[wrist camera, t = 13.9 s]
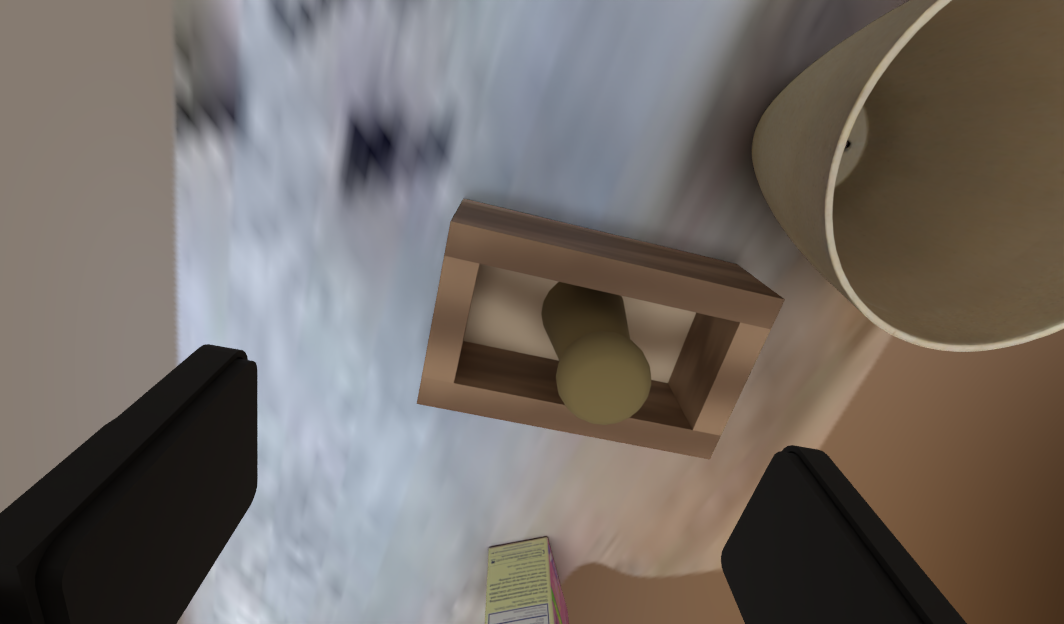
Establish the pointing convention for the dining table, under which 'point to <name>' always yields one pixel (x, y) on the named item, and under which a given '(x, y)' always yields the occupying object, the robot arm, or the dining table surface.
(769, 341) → the dining table surface
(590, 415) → the olive brown gourd shape
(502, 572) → the box
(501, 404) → the walnut well caddy
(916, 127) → the plant pot
